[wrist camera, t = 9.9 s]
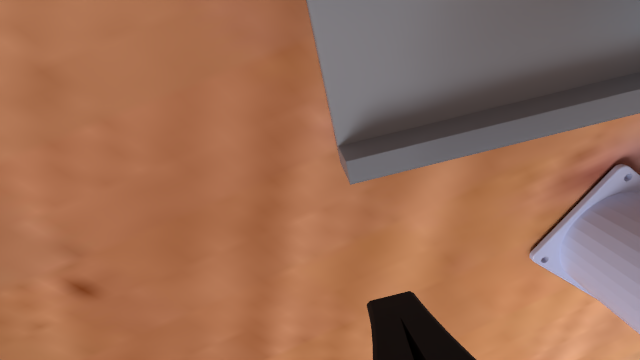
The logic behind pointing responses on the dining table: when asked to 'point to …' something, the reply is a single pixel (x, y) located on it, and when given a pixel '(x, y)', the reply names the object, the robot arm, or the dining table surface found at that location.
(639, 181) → the robot arm
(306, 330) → the dining table surface
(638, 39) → the box
